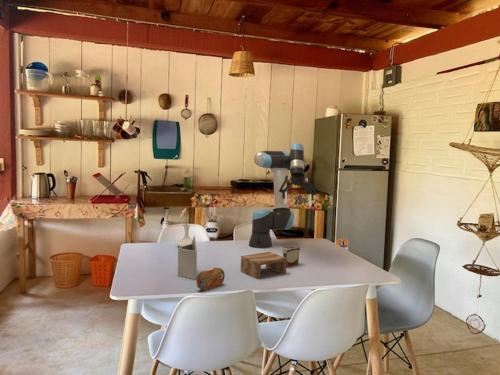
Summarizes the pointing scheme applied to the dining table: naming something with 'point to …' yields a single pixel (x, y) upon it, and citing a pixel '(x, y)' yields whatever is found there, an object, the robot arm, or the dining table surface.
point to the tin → (210, 278)
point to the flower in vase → (186, 239)
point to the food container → (291, 255)
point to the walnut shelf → (262, 263)
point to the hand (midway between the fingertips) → (297, 205)
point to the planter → (187, 260)
